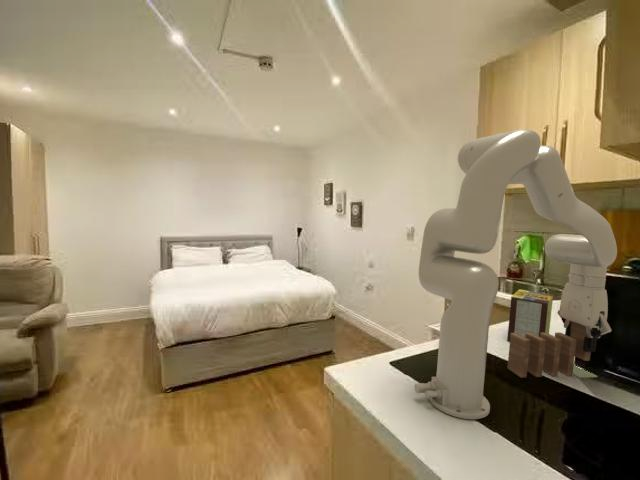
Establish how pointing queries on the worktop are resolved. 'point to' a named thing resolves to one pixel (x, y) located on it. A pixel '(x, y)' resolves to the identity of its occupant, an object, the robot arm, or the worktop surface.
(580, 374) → the pad
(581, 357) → the domino
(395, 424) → the worktop surface
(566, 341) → the domino
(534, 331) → the protein box
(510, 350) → the domino
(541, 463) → the worktop surface
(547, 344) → the domino
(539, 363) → the domino
